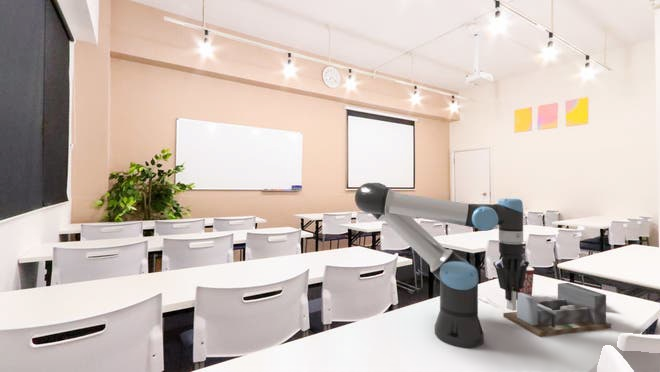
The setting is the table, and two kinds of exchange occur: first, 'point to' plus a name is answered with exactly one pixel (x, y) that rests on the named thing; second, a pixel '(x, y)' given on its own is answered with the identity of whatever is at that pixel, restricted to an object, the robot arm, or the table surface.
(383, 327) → the table surface
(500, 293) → the table surface
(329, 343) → the table surface
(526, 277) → the mug
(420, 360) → the table surface
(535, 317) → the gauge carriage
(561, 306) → the grey block structure
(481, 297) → the stylus pen
